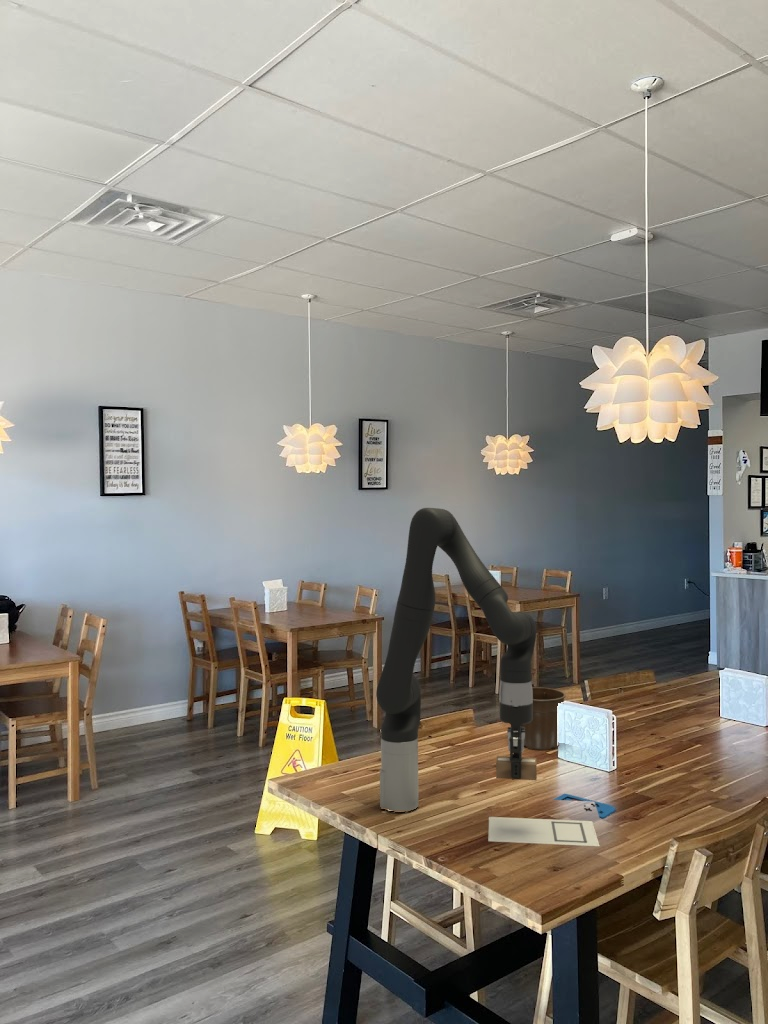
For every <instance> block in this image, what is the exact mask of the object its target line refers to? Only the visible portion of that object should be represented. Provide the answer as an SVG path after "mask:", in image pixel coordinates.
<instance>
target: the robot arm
mask: <svg viewBox="0 0 768 1024" xmlns="http://www.w3.org/2000/svg"><path fill="white" fill-rule="evenodd" d="M438 547H439V548H440V549H441V550H442V551H443V552H444V553H445V554H446V555H447V556H448V557H449V558H450V559H451V561H452V563H453V564H454V566H455V568H456V569H457V572H458V575H459V577H460V579H461V582H462V585H463V587H464V588H465V590H466V591H467V593H468V595H469V596H470V597H471V598H472V600H473V601H474V602H475V603H476V605H477V606H478V607H479V608H480V609H481V610H482V612H483V615H484V617H485V619H486V622H487V624H488V625H489V628H490V629H491V631H492V633H493V635H494V636H495V638H497V640H498V641H499V642H501V643H502V644H503V645H505V646H507V648H506V652H505V653H504V654H503V655H502V656H501V658H500V667H499V668H500V673H499V674H500V676H499V679H500V680H499V681H500V682H499V691H498V693H499V696H498V697H499V698H498V699H499V703H498V704H499V721H501V722H502V723H505V724H508V725H510V726H508V727H507V732H506V733H507V734H506V735H507V738H508V739H507V744H508V745H507V750H508V751H509V757H510V762H511V777H512V778H513V779H512V780H520V778H521V761H522V758H521V757H523V756H522V754H523V752H524V750H525V749H524V748H525V746H524V738H525V728H522V726H523V724H527V723H530V722H532V720H533V690H532V687H533V684H532V683H533V682H532V659H533V656H534V655H533V654H534V651H535V644H536V638H537V627H536V623H535V619H534V617H532V615H531V614H530V613H528V612H526V611H515V612H513V611H512V610H511V609H510V607H509V605H508V604H507V603H508V602H509V595H508V594H507V591H505V589H504V588H503V586H502V585H501V584H500V583H499V581H498V580H497V578H495V576H494V575H493V574H492V573H491V572H490V571H489V569H488V568H487V567H486V565H485V563H484V562H483V561H482V560H481V558H480V557H479V555H478V554H477V553H476V550H475V549H474V547H472V545H471V543H470V541H469V540H468V538H467V537H466V535H465V532H464V531H463V529H462V527H461V526H460V524H459V522H458V521H457V519H456V518H455V516H454V515H453V514H452V513H451V511H449V510H447V509H444V508H439V507H438V508H436V507H423V508H421V509H419V510H417V511H416V512H415V513H414V515H413V516H412V517H411V522H410V524H409V531H408V538H407V547H406V548H407V549H406V558H405V564H404V568H403V574H402V579H401V583H400V590H399V593H398V598H397V602H396V606H395V610H394V616H393V623H392V627H391V631H390V638H389V642H388V643H389V645H388V650H387V655H386V658H385V662H384V665H383V668H382V671H381V673H380V674H381V675H380V677H379V680H378V683H377V687H376V691H375V692H376V696H375V698H376V701H377V704H378V706H379V708H380V709H381V710H382V711H383V712H385V716H384V719H383V721H382V724H381V726H380V764H381V765H380V770H379V808H380V807H383V808H387V809H389V810H393V811H408V810H413V809H416V808H417V807H418V808H419V729H420V724H421V710H422V709H421V708H422V707H421V705H422V698H421V697H422V691H421V686H420V682H419V681H418V679H417V677H416V676H415V675H414V670H415V669H414V668H415V664H416V661H417V659H418V656H419V654H420V651H421V650H422V647H423V645H424V644H425V641H426V639H427V637H428V634H429V631H430V628H431V625H432V621H433V616H434V612H435V611H434V610H435V607H436V591H435V583H434V579H433V566H434V560H435V555H436V551H437V549H438ZM418 808H417V809H418ZM417 809H416V810H417Z"/></svg>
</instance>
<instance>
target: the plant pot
mask: <svg viewBox="0 0 768 1024" xmlns="http://www.w3.org/2000/svg"><path fill="white" fill-rule="evenodd" d="M532 690H533V720H532V722H530V723H527V724H523V726H522V728H525V738H524V747H526V748H527V749H529V748H530V749H529V750H531V749H532V750H535V751H536V750H537V751H545V750H546V751H548V750H549V751H550V750H551V749H556V748H558V747H557V706H558V703H561V702H564V700H565V698H566V693H565V692H564V691H562V690H559V689H556V688H549V687H540V686H539V687H538V686H532Z"/></svg>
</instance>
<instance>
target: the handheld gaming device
mask: <svg viewBox="0 0 768 1024" xmlns="http://www.w3.org/2000/svg"><path fill="white" fill-rule="evenodd" d="M552 800H553V801H568V802H569V801H574V802H575V801H577V802H594V803H590V806H592V807H593V808H596V810H597V811H596V812H597V814H598V817H599V819H600V818H601V819H602V820H605V819H606V818H608V817H609V816H611V815H612V814H614V813H615V812H616V807H615V806H614V805H611V804H606V803H604V802H599V801H596V800H592V799H587V798H583V797H581V796H576V795H572V794H568V793H562V794H561V795H559V796H557V797H555V798H553V799H552ZM583 807H586V805H585V804H584V805H583ZM583 810H585V811H586V812H588V811H589V812H593V810H592V809H591V807H589V808H583ZM613 812H614V813H613ZM610 814H611V815H610ZM607 816H608V817H607Z"/></svg>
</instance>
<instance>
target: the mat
mask: <svg viewBox="0 0 768 1024" xmlns="http://www.w3.org/2000/svg"><path fill="white" fill-rule="evenodd" d="M487 839H488V840H487V841H488V842H493V843H495V842H496V843H497V842H498V843H499V842H500V843H518V844H538V845H557V846H559V845H560V846H561V845H563V846H565V845H566V846H582V847H600V844H599V839H598V836H597V833H596V830H595V827H594V822H593V820H573V819H549V818H546V819H545V818H525V817H524V818H523V817H522V818H521V817H500V816H489V817H488V838H487Z"/></svg>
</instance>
